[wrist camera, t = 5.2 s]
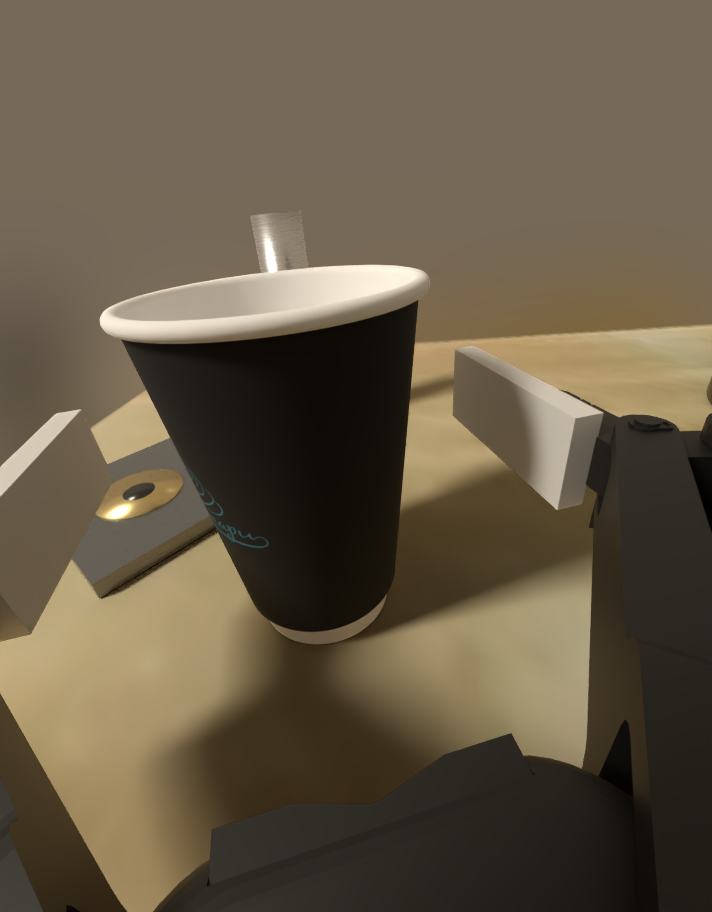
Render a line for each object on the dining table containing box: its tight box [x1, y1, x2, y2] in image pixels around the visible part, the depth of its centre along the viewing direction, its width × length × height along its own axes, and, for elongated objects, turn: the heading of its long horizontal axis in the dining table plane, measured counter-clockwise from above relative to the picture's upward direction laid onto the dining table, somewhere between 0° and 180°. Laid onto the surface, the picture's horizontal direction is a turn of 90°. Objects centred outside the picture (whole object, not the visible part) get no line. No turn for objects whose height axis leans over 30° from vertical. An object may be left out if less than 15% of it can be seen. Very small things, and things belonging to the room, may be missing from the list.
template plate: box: [71, 438, 216, 598], centre depth 25 cm, size 20×10×1 cm, turn 138°
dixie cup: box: [100, 265, 430, 644], centre depth 13 cm, size 8×8×11 cm
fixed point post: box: [250, 211, 308, 273], centre depth 26 cm, size 4×4×12 cm
